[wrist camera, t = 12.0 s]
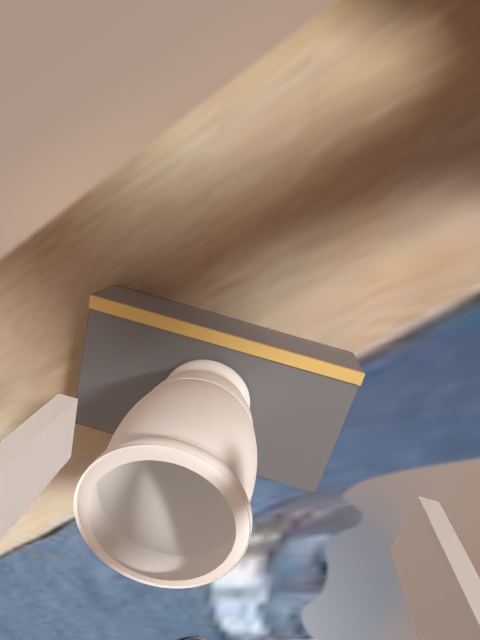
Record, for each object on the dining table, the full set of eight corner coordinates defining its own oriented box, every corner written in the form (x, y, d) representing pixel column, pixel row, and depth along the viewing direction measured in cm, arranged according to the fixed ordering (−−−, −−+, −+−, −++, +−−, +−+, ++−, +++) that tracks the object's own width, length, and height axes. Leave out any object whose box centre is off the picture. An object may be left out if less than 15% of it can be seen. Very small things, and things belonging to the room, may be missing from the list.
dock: (352, 352, 38) (365, 374, 33) (310, 460, 42) (315, 494, 37) (114, 284, 38) (89, 295, 33) (95, 398, 42) (71, 423, 37)
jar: (141, 421, 37) (56, 554, 22) (171, 331, 34) (94, 418, 19) (239, 458, 37) (217, 614, 22) (277, 372, 34) (280, 488, 19)
